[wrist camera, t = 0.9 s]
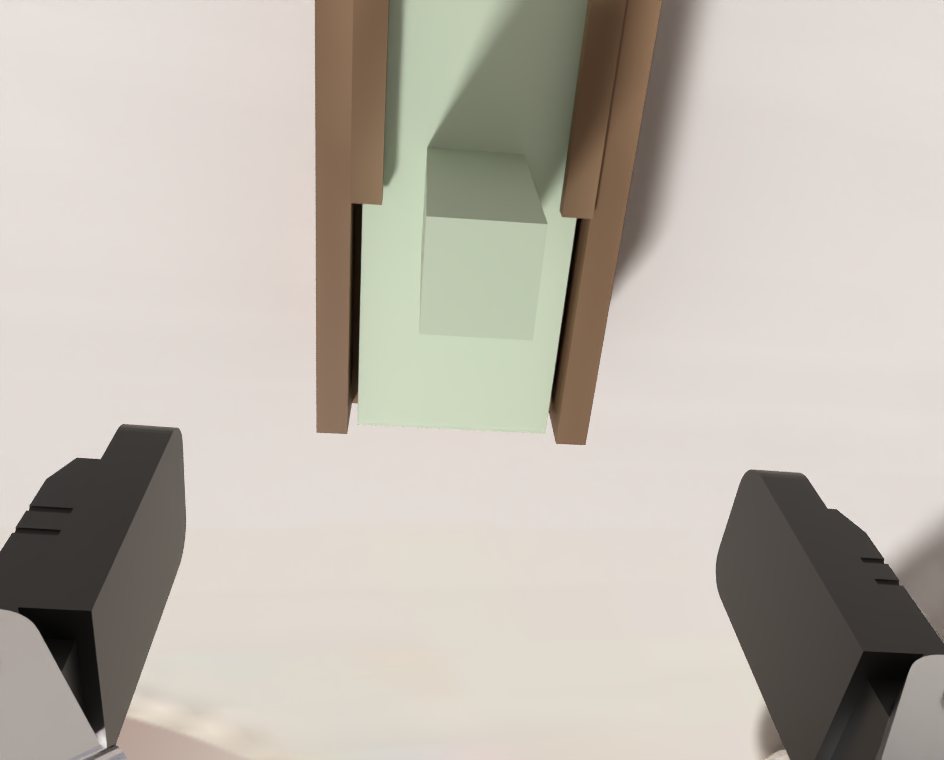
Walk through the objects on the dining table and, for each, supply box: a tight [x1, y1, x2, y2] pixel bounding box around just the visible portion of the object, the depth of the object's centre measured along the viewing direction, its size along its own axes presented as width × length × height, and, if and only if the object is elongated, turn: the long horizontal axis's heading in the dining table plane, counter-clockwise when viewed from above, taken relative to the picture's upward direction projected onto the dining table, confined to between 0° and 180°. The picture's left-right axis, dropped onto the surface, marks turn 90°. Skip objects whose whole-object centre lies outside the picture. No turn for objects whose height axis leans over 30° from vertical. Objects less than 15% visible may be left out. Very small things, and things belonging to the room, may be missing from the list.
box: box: [315, 0, 662, 445], centre depth 29 cm, size 9×14×6 cm, turn 175°
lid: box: [357, 0, 588, 434], centre depth 24 cm, size 6×16×7 cm, turn 175°
